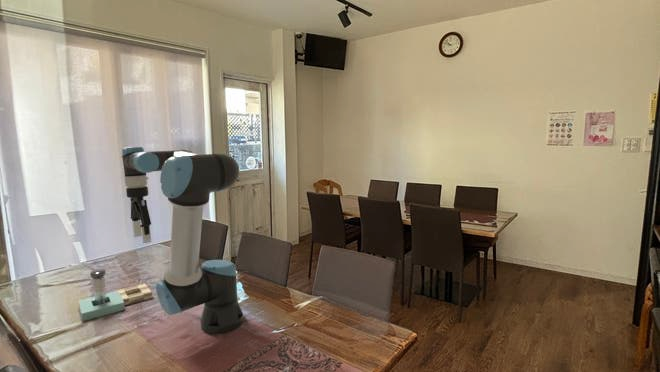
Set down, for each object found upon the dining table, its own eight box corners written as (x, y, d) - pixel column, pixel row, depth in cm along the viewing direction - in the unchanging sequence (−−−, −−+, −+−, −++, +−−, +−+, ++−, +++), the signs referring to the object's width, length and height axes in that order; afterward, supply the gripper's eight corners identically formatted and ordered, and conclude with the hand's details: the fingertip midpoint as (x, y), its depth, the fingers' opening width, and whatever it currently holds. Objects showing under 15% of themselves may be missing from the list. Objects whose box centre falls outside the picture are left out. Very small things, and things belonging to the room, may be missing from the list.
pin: (110, 308, 144) (106, 272, 142) (95, 312, 141) (90, 275, 139) (108, 304, 148) (104, 269, 146) (93, 308, 145) (89, 272, 143)
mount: (152, 297, 153) (151, 292, 153) (120, 306, 146) (119, 300, 145) (145, 288, 162) (145, 283, 162) (115, 296, 155) (114, 290, 155)
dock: (124, 309, 143) (124, 302, 143) (82, 321, 135) (81, 313, 134) (118, 297, 154) (118, 290, 154) (79, 307, 145) (78, 300, 145)
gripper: (156, 187, 134) (162, 243, 136) (139, 183, 152) (144, 232, 155) (134, 190, 129) (140, 247, 131) (118, 185, 147) (124, 235, 150)
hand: (142, 239), depth 143 cm, fingers open, 13 cm apart
